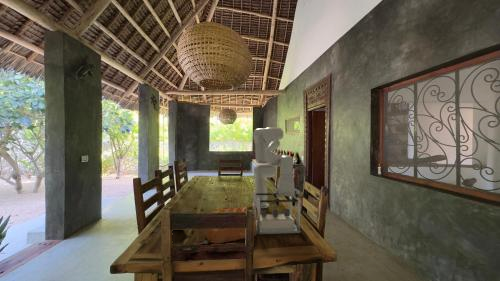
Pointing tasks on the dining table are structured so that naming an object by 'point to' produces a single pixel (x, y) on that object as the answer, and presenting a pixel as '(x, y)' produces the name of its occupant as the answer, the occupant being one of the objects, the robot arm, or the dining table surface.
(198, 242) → the lantern
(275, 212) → the dark grey rectangular box
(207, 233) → the bread
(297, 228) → the frame
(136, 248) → the dining table surface
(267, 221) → the switch box
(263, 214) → the grey rectangular block
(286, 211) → the grey matte cuboid
